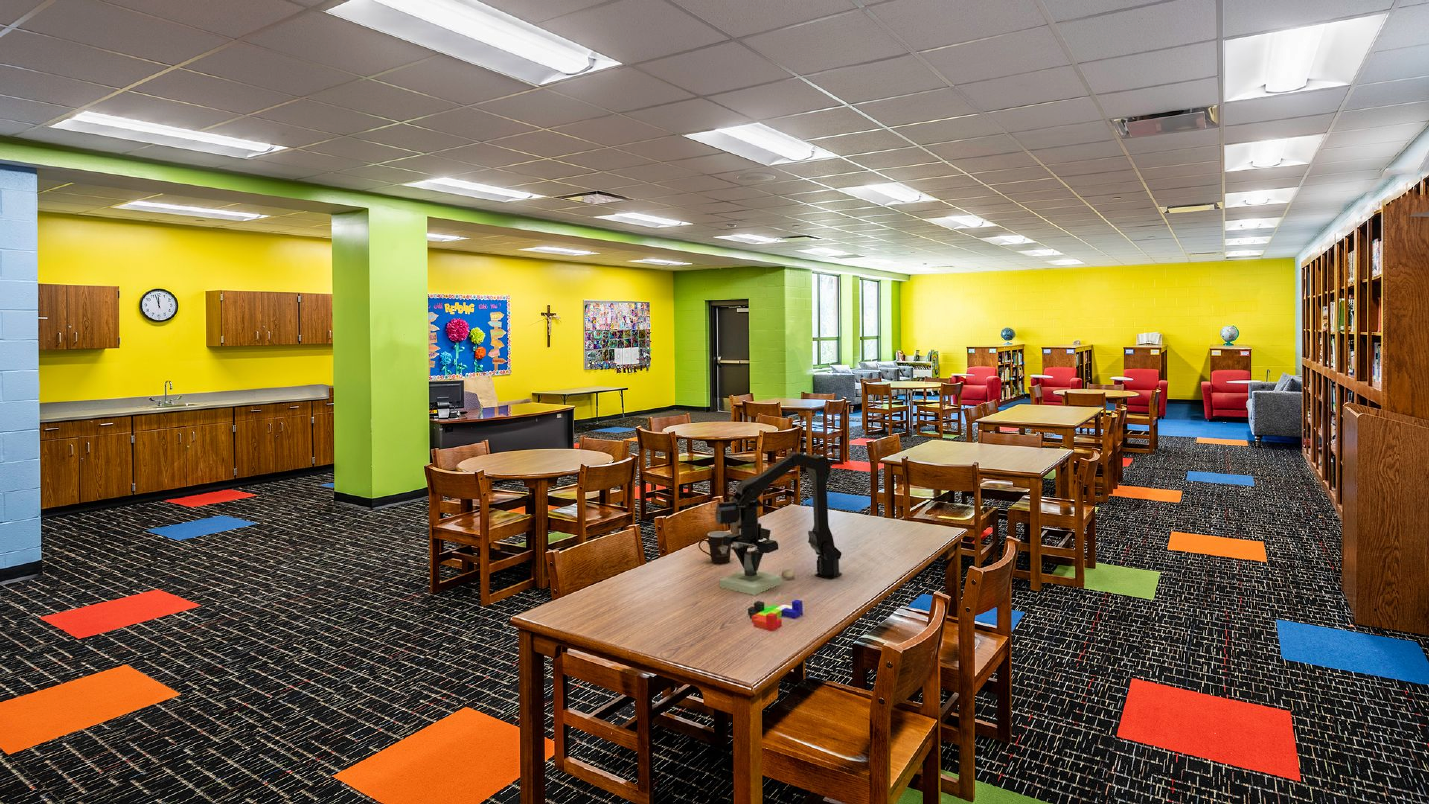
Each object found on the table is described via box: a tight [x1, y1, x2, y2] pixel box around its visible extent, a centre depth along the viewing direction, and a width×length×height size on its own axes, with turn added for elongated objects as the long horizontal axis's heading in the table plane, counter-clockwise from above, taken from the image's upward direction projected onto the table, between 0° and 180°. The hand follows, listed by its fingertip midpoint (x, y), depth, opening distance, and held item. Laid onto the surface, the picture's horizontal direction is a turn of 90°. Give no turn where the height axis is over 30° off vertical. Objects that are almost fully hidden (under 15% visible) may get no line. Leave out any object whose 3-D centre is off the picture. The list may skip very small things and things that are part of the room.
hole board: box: [719, 570, 783, 596], centre depth 247 cm, size 14×14×2 cm
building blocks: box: [747, 599, 804, 632], centre depth 218 cm, size 15×13×4 cm
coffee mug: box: [697, 530, 732, 565], centre depth 275 cm, size 12×9×10 cm
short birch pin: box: [781, 568, 795, 581], centre depth 254 cm, size 4×4×2 cm
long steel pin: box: [743, 550, 758, 576], centre depth 247 cm, size 4×4×7 cm
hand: (750, 569), depth 247 cm, fingers closed on long steel pin, 4 cm apart
